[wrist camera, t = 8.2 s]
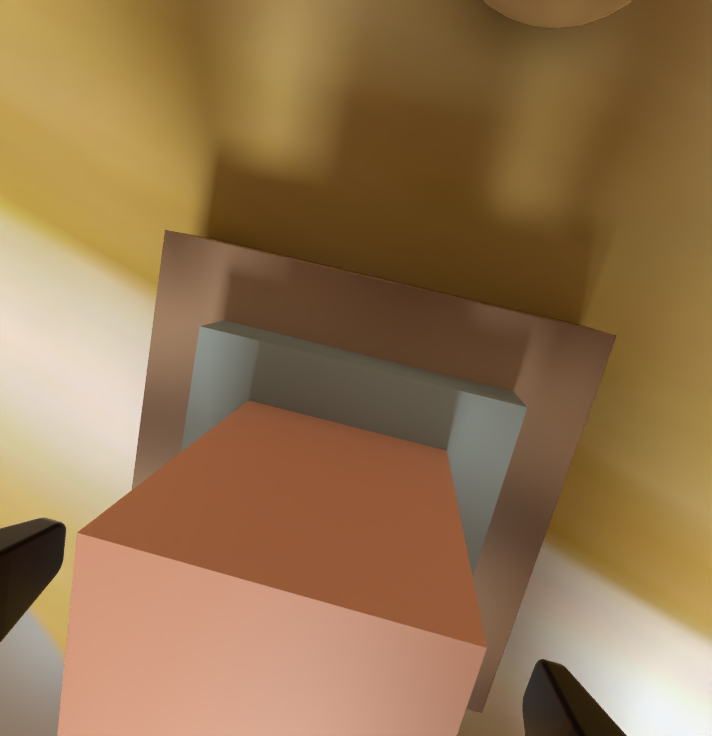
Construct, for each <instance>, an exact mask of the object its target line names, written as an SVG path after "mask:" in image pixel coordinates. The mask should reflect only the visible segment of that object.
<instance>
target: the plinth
mask: <svg viewBox="0 0 712 736" xmlns="http://www.w3.org/2000/svg"><path fill="white" fill-rule="evenodd" d="M615 338H616V335H612V334H609V333H605V332H602V331H599V330H595V329H592V328H589V327H585V326H582V325H578V324H574V323H569V322H565V321H561V320H557V319H552V318H548V317H544V316H540V315H535V314H531V313H527V312H522V311H518V310H514V309H510V308H505V307H501V306H497V305H493V304H488V303H484V302H480V301H475V300H471V299H467V298H463V297H458V296H454V295H450V294H446V293H441V292H437V291H433V290H428V289H424V288H420V287H416V286H411V285H407V284H403V283H399V282H394V281H390V280H386V279H381V278H377V277H373V276H369V275H364V274H360V273H356V272H352V271H347V270H343V269H339V268H334V267H330V266H326V265H322V264H317V263H313V262H309V261H305V260H300V259H296V258H292V257H287V256H283V255H279V254H275V253H270V252H266V251H262V250H258V249H253V248H249V247H245V246H240V245H236V244H232V243H228V242H223V241H219V240H215V239H211V238H206V237H201V236H195V235H190V234H184V233H179V232H173V231H168V230H165V235H164V242H163V250H162V258H161V266H160V274H159V282H158V289H157V297H156V305H155V313H154V321H153V328H152V336H151V344H150V352H149V360H148V368H147V375H146V383H145V391H144V399H143V407H142V415H141V422H140V430H139V438H138V446H137V454H136V461H135V469H134V477H133V485H132V490H133V489H134V488H136V487H137V486H138V485H139V484H141V483H142V482H143V481H145V480H146V479H147V478H149V477H150V476H151V475H152V474H154V473H155V472H156V471H158V470H159V469H160V468H161V467H163V466H164V465H165V464H167V463H168V462H169V461H171V460H172V459H173V458H174V457H176V456H177V455H178V454H180V453H181V452H182V451H183V450H185V449H186V448H187V447H189V446H190V445H191V444H192V443H194V442H195V441H196V440H198V439H199V438H200V437H202V436H203V435H204V434H205V433H207V432H208V431H209V430H211V429H212V428H213V427H214V426H216V425H217V424H218V423H220V422H221V421H222V420H224V419H225V418H226V417H227V416H229V415H230V414H231V413H233V412H234V411H235V410H236V409H238V408H239V407H240V406H242V405H243V404H244V403H245V402H247V401H248V400H249V401H253V402H257V403H261V404H265V405H269V406H273V407H277V408H280V409H284V410H288V411H292V412H296V413H300V414H304V415H308V416H312V417H316V418H320V419H324V420H328V421H332V422H336V423H340V424H344V425H348V426H351V427H355V428H359V429H363V430H367V431H371V432H375V433H379V434H383V435H387V436H391V437H395V438H399V439H403V440H407V441H411V442H415V443H419V444H423V445H426V446H430V447H434V448H438V449H442V450H446V451H447V454H448V459H449V464H450V469H451V474H452V479H453V484H454V489H455V494H456V499H457V503H458V508H459V513H460V518H461V523H462V528H463V533H464V538H465V543H466V548H467V552H468V557H469V562H470V567H471V572H472V577H473V582H474V587H475V592H476V597H477V601H478V606H479V611H480V616H481V621H482V626H483V631H484V636H485V641H486V646H487V649H486V652H485V655H484V658H483V661H482V664H481V667H480V670H479V673H478V676H477V679H476V682H475V684H474V687H473V690H472V693H471V696H470V699H469V702H468V705H467V709H471V710H474V711H477V712H481V713H482V710H483V708H484V705H485V702H486V699H487V696H488V694H489V691H490V688H491V685H492V682H493V680H494V677H495V674H496V671H497V668H498V666H499V663H500V660H501V657H502V654H503V652H504V649H505V646H506V643H507V640H508V638H509V635H510V632H511V629H512V626H513V624H514V621H515V618H516V615H517V612H518V610H519V607H520V604H521V601H522V598H523V596H524V593H525V590H526V587H527V584H528V582H529V579H530V576H531V573H532V570H533V568H534V565H535V562H536V559H537V556H538V554H539V551H540V548H541V545H542V542H543V540H544V537H545V534H546V531H547V528H548V526H549V523H550V520H551V517H552V514H553V512H554V509H555V506H556V503H557V500H558V498H559V495H560V492H561V489H562V486H563V484H564V481H565V478H566V475H567V472H568V470H569V467H570V464H571V461H572V459H573V456H574V453H575V450H576V447H577V445H578V442H579V439H580V436H581V433H582V431H583V428H584V425H585V422H586V419H587V417H588V414H589V411H590V408H591V405H592V403H593V400H594V397H595V394H596V391H597V389H598V386H599V383H600V380H601V377H602V375H603V372H604V369H605V366H606V363H607V361H608V358H609V355H610V352H611V349H612V347H613V344H614V341H615Z"/></svg>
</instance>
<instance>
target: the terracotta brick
mask: <svg viewBox="0 0 712 736" xmlns="http://www.w3.org/2000/svg"><path fill="white" fill-rule="evenodd" d="M486 649H487V646H486V641H485V636H484V631H483V626H482V621H481V616H480V611H479V606H478V601H477V597H476V592H475V587H474V582H473V577H472V572H471V567H470V562H469V557H468V552H467V548H466V543H465V538H464V533H463V528H462V523H461V518H460V513H459V508H458V503H457V499H456V494H455V489H454V484H453V479H452V474H451V469H450V464H449V459H448V454H447V451H446V450H442V449H438V448H434V447H430V446H426V445H423V444H419V443H415V442H411V441H407V440H403V439H399V438H395V437H391V436H387V435H383V434H379V433H375V432H371V431H367V430H363V429H359V428H355V427H351V426H348V425H344V424H340V423H336V422H332V421H328V420H324V419H320V418H316V417H312V416H308V415H304V414H300V413H296V412H292V411H288V410H284V409H280V408H277V407H273V406H269V405H265V404H261V403H257V402H253V401H249V400H248V401H247V402H245V403H244V404H243V405H242V406H240V407H239V408H238V409H236V410H235V411H234V412H233V413H231V414H230V415H229V416H227V417H226V418H225V419H224V420H222V421H221V422H220V423H218V424H217V425H216V426H214V427H213V428H212V429H211V430H209V431H208V432H207V433H205V434H204V435H203V436H202V437H200V438H199V439H198V440H196V441H195V442H194V443H192V444H191V445H190V446H189V447H187V448H186V449H185V450H183V451H182V452H181V453H180V454H178V455H177V456H176V457H174V458H173V459H172V460H171V461H169V462H168V463H167V464H165V465H164V466H163V467H161V468H160V469H159V470H158V471H156V472H155V473H154V474H152V475H151V476H150V477H149V478H147V479H146V480H145V481H143V482H142V483H141V484H139V485H138V486H137V487H136V488H134V489H133V490H132V491H130V492H129V493H128V494H127V495H125V496H124V497H123V498H121V499H120V500H119V501H118V502H116V503H115V504H114V505H112V506H111V507H110V508H108V509H107V510H106V511H105V512H103V513H102V514H101V515H99V516H98V517H97V518H96V519H94V520H93V521H92V522H90V523H89V524H88V525H86V526H85V527H84V528H83V529H81V530H80V531H79V532H77V540H76V550H75V560H74V570H73V581H72V591H71V601H70V612H69V622H68V632H67V643H66V653H65V663H64V674H63V684H62V695H61V706H60V715H59V726H58V736H457V734H458V731H459V728H460V725H461V722H462V720H463V717H464V714H465V711H466V708H467V705H468V702H469V699H470V696H471V693H472V690H473V687H474V684H475V682H476V679H477V676H478V673H479V670H480V667H481V664H482V661H483V658H484V655H485V652H486Z"/></svg>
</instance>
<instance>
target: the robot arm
mask: <svg viewBox="0 0 712 736" xmlns="http://www.w3.org/2000/svg"><path fill="white" fill-rule="evenodd" d="M65 536H66V527H65V525H64V524H63V523H62V522H59V521H55V520H52V519H48V518H39V519H35V520H31V521H27V522H24V523H20V524H16V525H12V526H8V527H4V528H1V529H0V642H1V641H2V640H3V639H4V637H5V636H6V635H7V634H8V633H9V631H10V630H11V629H12V628H13V627H14V625H15V624H16V623H17V622H18V621H19V619H20V618H21V617H22V616H23V615H24V613H25V612H26V611H27V610H28V608H29V607H30V606H31V605H32V604H33V602H34V601H35V600H36V599H37V598H38V596H39V595H40V594H41V593H42V591H43V590H44V589H45V588H46V587H47V585H48V584H49V583H50V582H51V581H52V579H53V578H54V577H55V576H56V574H57V573H58V571H59V570H60V568H61V566H62V562H63V557H64V546H65ZM523 719H524V728H525V736H626V734H625V733H624V732H623V731H622V730H621V729H620V728H619V727H618V726H617V724H616V723H615V722H614V721H613V720H612V719H611V718H610V717H609V715H608V714H607V713H606V712H605V711H604V710H603V709H602V708H601V706H600V705H599V704H598V703H597V702H596V701H595V700H594V699H593V698H592V696H591V695H590V694H589V693H588V692H587V691H586V690H585V689H584V687H583V686H582V685H581V684H580V683H579V682H578V681H577V680H576V678H575V677H574V676H573V675H572V674H571V673H570V672H569V671H568V669H567V668H566V667H564V666H563V665H561V664H558V663H555V662H551V661H548V660H544V659H541V660H539V661H538V662H537V663H536V665H535V667H534V670H533V672H532V675H531V678H530V680H529V683H528V685H527V688H526V691H525V694H524V697H523Z"/></svg>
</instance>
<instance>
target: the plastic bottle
mask: <svg viewBox="0 0 712 736" xmlns="http://www.w3.org/2000/svg"><path fill="white" fill-rule="evenodd" d="M483 1H484V2H485V3H486V4H487V5H488V6H490V7H491V8H493V9H494V10H496V11H498V12H499V13H501V14H502V15H504V16H505V17H507V18H510V19H512V20H515V21H518V22H521V23H524V24H526V25H529V26H537V27H545V28H554V29H555V28H564V27H573V26H581V25H584V24H587V23H590V22H593V21H596V20H599V19H602V18H605V17H607V16H609V15H610V14H612V13H614V12H616V11H618V10H619V9H621V8H623V7H625V6H627V5H628V4H630V3H631V2H632V1H633V0H483Z"/></svg>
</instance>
